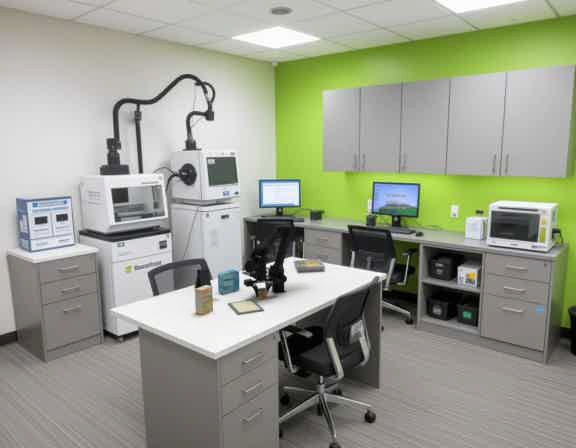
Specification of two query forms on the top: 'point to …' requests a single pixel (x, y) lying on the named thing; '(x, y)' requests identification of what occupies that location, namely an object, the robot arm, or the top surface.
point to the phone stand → (202, 278)
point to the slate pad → (245, 307)
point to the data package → (228, 281)
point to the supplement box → (203, 299)
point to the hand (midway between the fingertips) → (261, 296)
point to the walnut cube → (262, 294)
